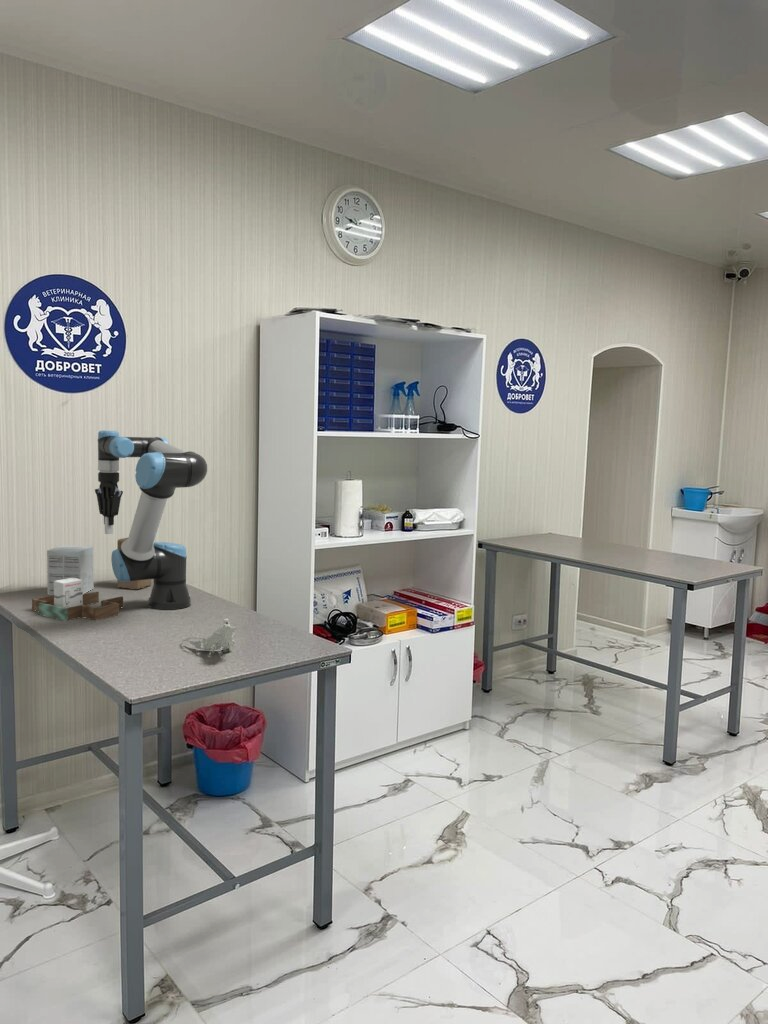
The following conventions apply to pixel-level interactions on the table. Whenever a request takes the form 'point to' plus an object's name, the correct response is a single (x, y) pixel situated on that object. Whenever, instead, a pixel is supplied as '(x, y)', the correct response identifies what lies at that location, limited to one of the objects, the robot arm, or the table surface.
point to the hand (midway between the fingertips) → (108, 533)
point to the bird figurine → (216, 639)
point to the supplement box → (70, 565)
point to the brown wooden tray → (78, 607)
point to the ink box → (68, 592)
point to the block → (133, 583)
